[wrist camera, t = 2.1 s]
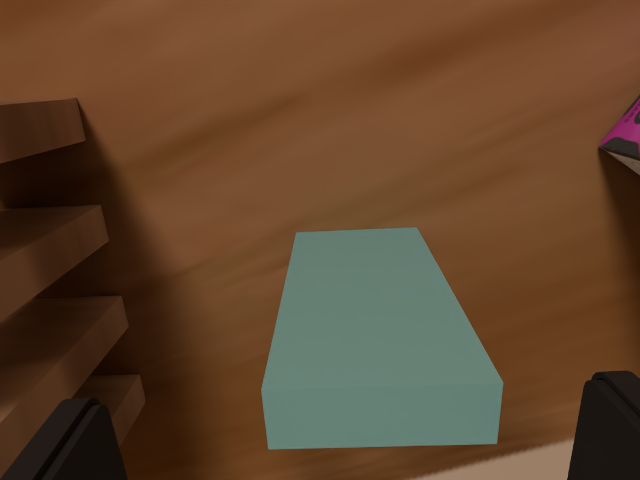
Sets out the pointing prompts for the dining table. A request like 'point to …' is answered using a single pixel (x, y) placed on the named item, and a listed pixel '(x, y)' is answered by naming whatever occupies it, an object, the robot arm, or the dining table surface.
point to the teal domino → (374, 349)
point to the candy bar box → (625, 138)
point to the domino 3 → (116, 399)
